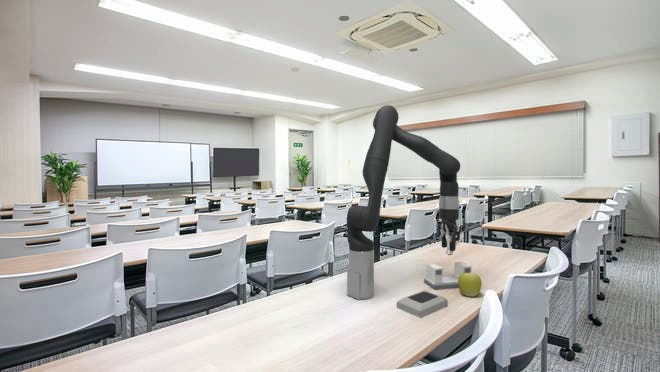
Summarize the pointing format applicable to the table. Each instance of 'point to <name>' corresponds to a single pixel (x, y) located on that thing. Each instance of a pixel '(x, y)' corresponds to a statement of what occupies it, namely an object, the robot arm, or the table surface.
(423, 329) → the table surface
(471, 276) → the apple
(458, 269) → the block
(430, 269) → the block
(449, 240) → the lightbulb
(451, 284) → the rail board
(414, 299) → the grey flat block
